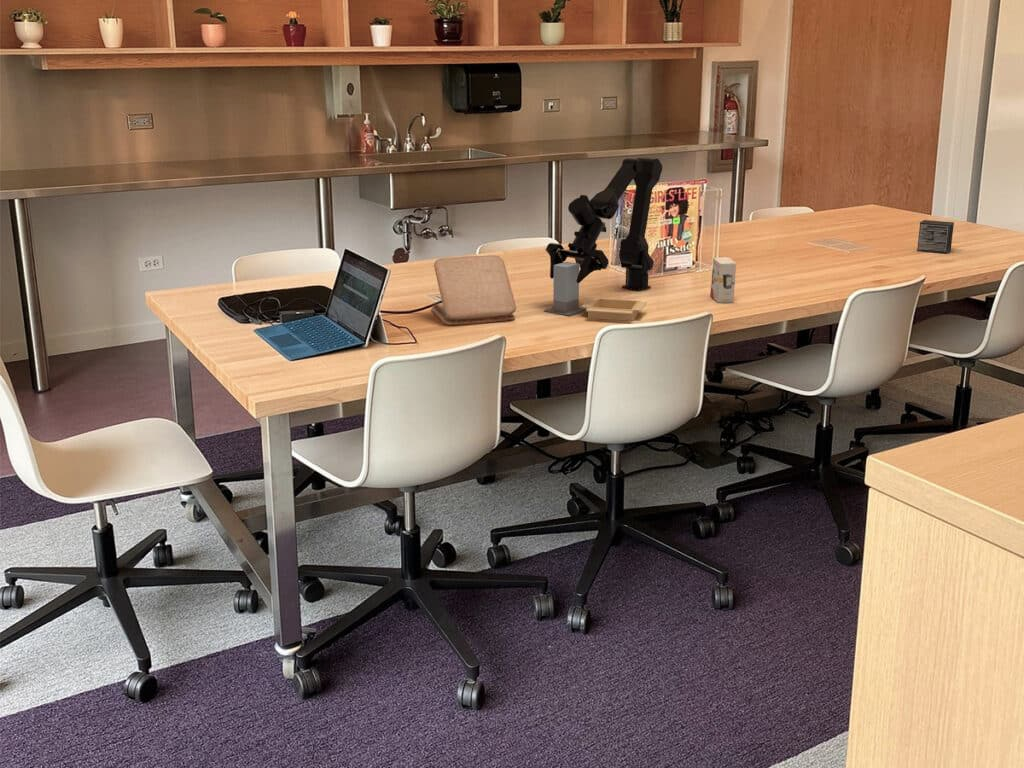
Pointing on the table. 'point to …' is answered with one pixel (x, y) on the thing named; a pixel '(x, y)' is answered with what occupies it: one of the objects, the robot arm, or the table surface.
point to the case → (473, 290)
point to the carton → (613, 308)
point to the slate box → (566, 287)
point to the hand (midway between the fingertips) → (564, 280)
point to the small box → (935, 236)
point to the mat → (567, 312)
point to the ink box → (723, 280)
